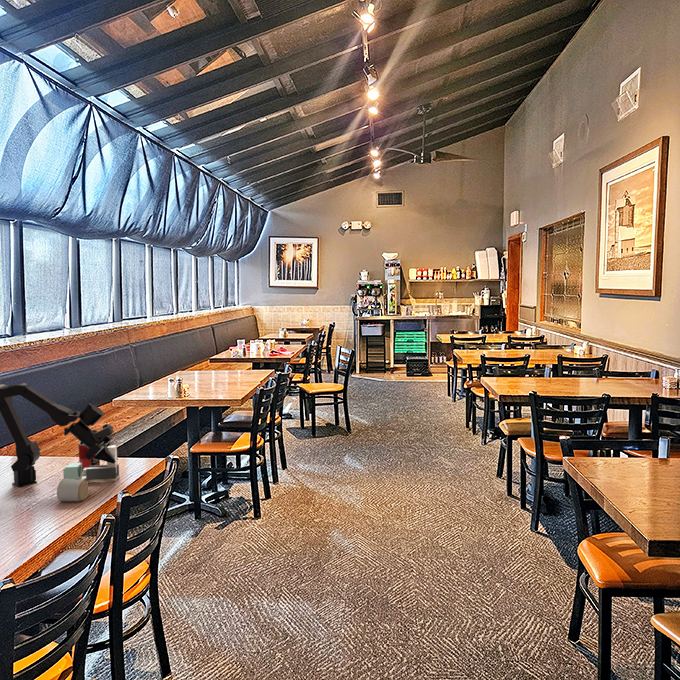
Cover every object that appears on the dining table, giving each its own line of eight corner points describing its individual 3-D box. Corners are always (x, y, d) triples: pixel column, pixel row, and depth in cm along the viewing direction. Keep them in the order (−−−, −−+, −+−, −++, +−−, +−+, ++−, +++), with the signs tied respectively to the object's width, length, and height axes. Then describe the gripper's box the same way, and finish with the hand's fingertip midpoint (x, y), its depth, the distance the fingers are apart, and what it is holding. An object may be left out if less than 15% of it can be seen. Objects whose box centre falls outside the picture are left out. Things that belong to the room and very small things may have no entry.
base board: (119, 476, 227) (119, 474, 227) (115, 481, 221) (115, 479, 221) (67, 479, 224) (67, 477, 224) (62, 484, 218) (62, 481, 218)
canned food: (95, 470, 236) (94, 444, 235) (75, 470, 236) (74, 444, 235) (103, 465, 243) (102, 439, 243) (84, 465, 244) (83, 439, 243)
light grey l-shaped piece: (117, 472, 225) (116, 445, 224) (115, 474, 222) (114, 447, 221) (85, 474, 223) (84, 446, 223) (82, 476, 220) (81, 448, 220)
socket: (82, 476, 224) (81, 462, 224) (77, 480, 219) (77, 466, 219) (67, 477, 224) (67, 463, 223) (63, 481, 218) (62, 467, 218)
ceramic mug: (80, 504, 196) (79, 482, 196) (56, 504, 196) (55, 482, 196) (94, 494, 207) (93, 473, 206) (71, 494, 207) (70, 473, 206)
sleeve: (119, 474, 226) (118, 464, 226) (116, 478, 221) (115, 467, 221) (90, 476, 224) (89, 465, 224) (86, 480, 220) (86, 469, 219)
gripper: (92, 424, 212) (125, 452, 214) (106, 414, 230) (135, 440, 233) (71, 446, 211) (103, 474, 214) (86, 434, 230) (116, 460, 232)
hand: (115, 461), depth 223 cm, fingers closed on light grey l-shaped piece, 3 cm apart
